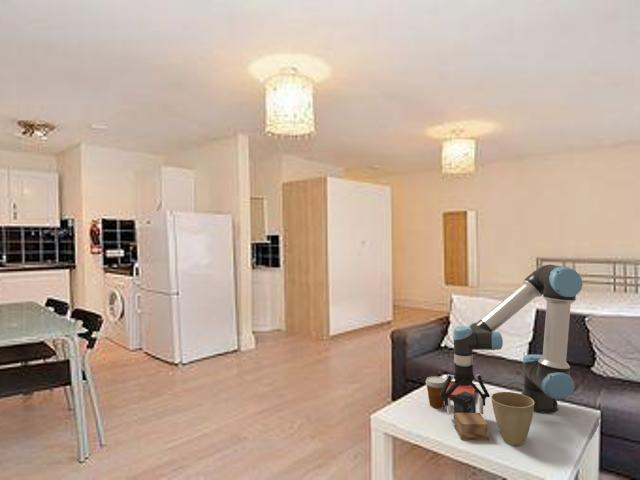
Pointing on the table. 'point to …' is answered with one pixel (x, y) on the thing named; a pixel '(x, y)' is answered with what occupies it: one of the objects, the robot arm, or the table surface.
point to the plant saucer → (461, 389)
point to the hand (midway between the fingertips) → (464, 413)
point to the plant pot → (513, 416)
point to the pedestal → (471, 426)
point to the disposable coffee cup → (435, 391)
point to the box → (464, 403)
